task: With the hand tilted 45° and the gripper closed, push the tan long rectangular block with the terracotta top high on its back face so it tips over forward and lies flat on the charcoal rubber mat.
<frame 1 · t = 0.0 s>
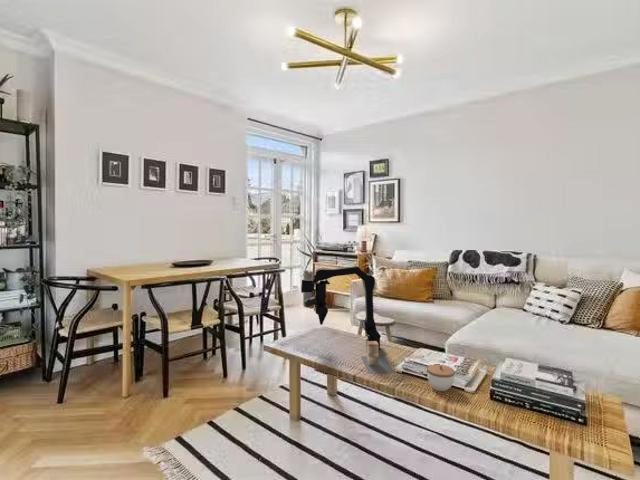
hand: (320, 321, 192), 15 cm above the table, tool pointing down, fingers open, 9 cm apart
tan long rectangular block: (372, 363, 174), resting on rubber mat
rubber mat: (377, 365, 173), on the table
stone block: (430, 372, 167), on the table
lidded jar: (440, 388, 151), on the table
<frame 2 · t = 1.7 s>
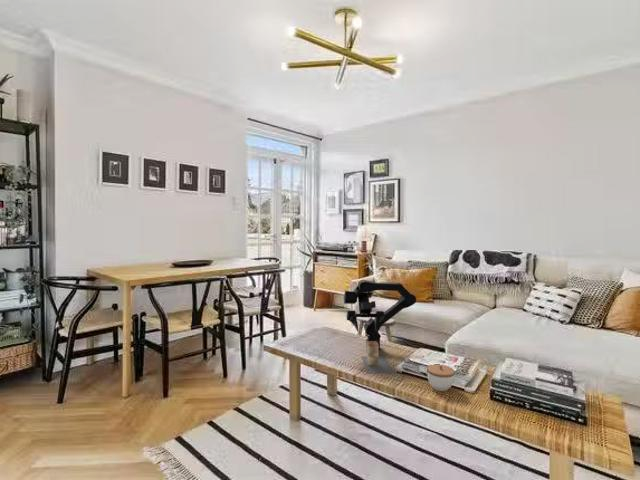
hand: (367, 330, 181), 14 cm above the table, tool tilted 45°, fingers open, 9 cm apart
nothing on the table moved.
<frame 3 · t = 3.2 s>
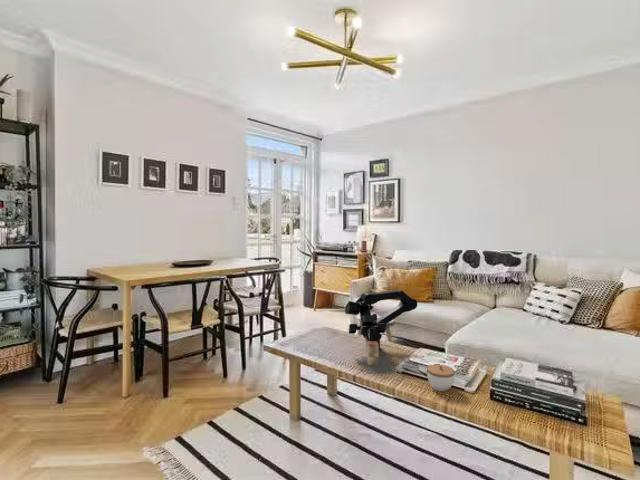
hand: (369, 344, 180), 7 cm above the table, tool tilted 45°, fingers closed
nothing on the table moved.
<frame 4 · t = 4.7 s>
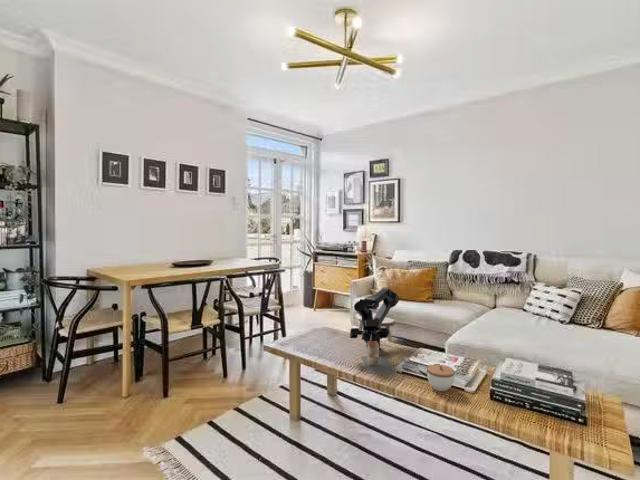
hand: (371, 349, 175), 7 cm above the table, tool tilted 45°, fingers closed
tan long rectangular block: (372, 362, 174), point 1 cm above the table, tilted 8°, touching gripper, rubber mat
everything else where it was.
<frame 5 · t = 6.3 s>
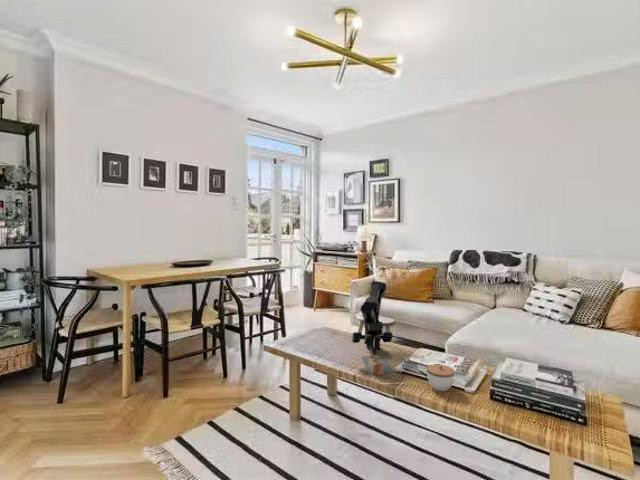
hand: (374, 354, 169), 7 cm above the table, tool tilted 45°, fingers closed
tan long rectangular block: (373, 360, 171), point 3 cm above the table, tilted 90°, touching rubber mat
everything else where it was.
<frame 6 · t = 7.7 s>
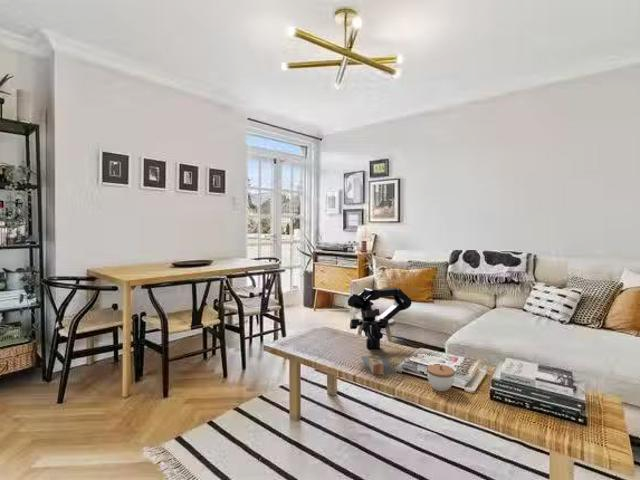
hand: (371, 339, 179), 10 cm above the table, tool tilted 45°, fingers closed
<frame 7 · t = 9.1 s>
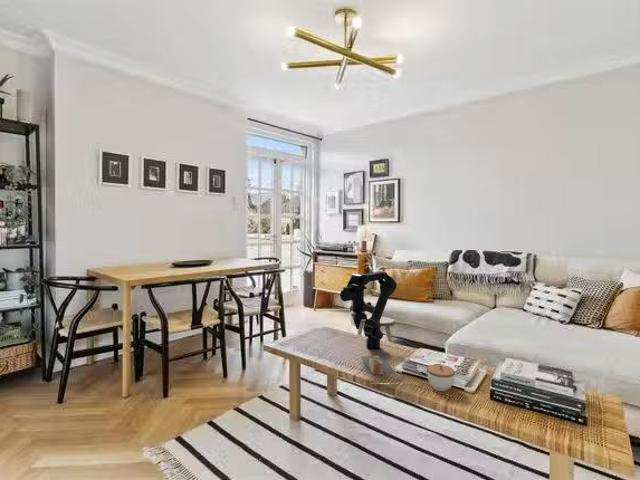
hand: (357, 329, 186), 13 cm above the table, tool pointing down, fingers closed
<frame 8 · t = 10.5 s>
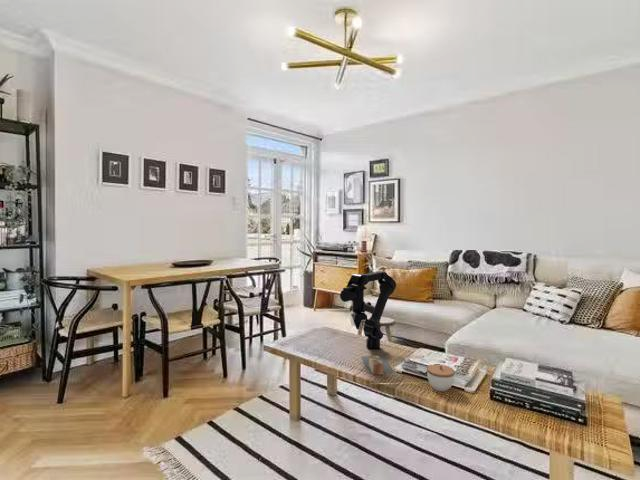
hand: (357, 329, 186), 13 cm above the table, tool pointing down, fingers closed
at the end: tan long rectangular block tilted 90°; tan long rectangular block inside the target area on the rubber mat (1.2 cm from its centre), point 2.7 cm above the rubber mat's base; tan long rectangular block touching rubber mat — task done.
